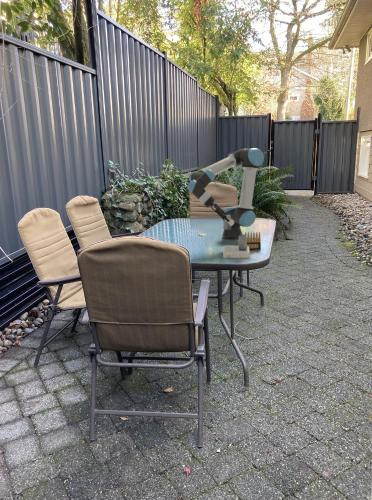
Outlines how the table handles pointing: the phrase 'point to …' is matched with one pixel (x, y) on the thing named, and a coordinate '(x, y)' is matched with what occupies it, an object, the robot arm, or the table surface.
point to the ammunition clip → (254, 241)
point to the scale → (235, 252)
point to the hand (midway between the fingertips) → (232, 223)
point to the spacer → (225, 224)
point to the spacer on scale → (242, 242)
